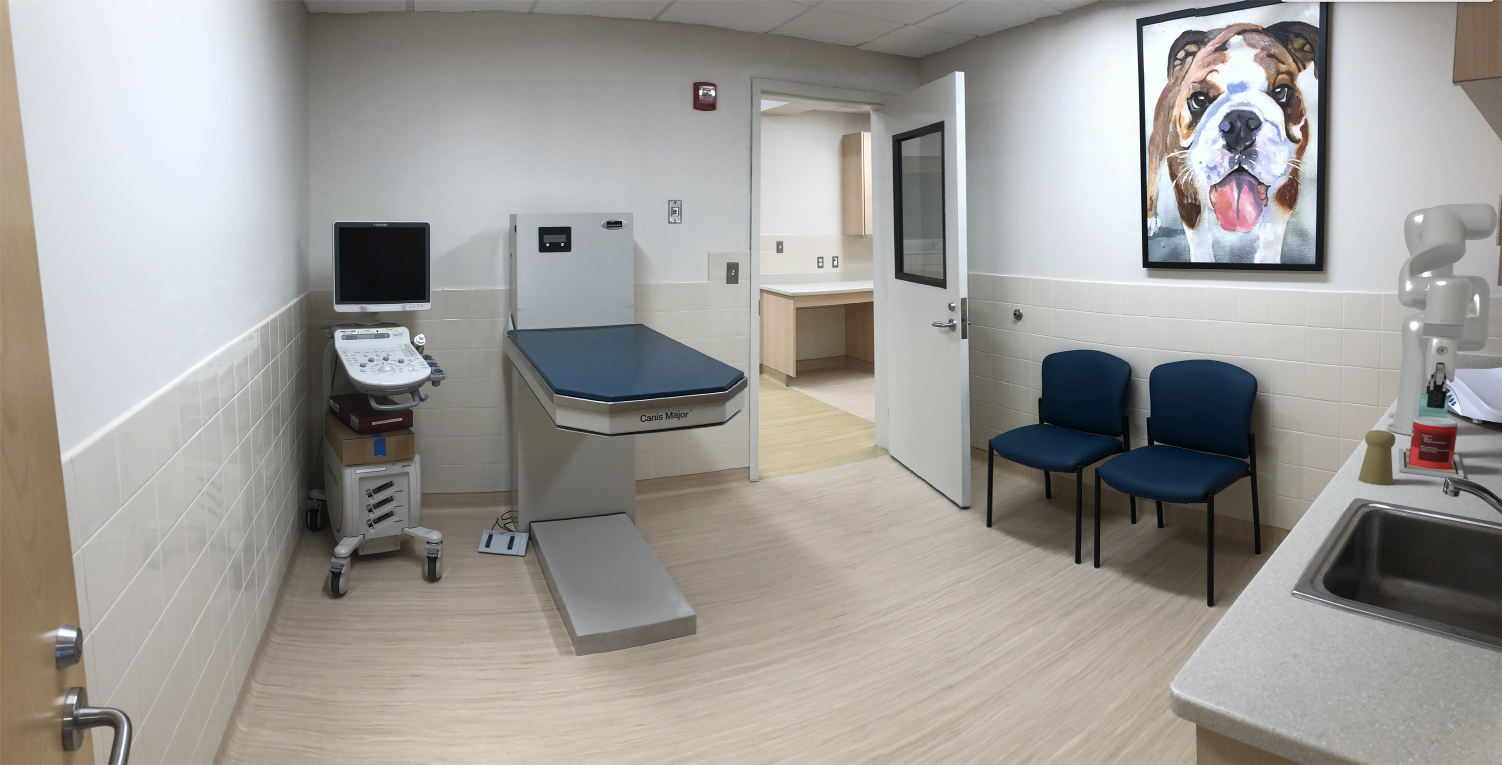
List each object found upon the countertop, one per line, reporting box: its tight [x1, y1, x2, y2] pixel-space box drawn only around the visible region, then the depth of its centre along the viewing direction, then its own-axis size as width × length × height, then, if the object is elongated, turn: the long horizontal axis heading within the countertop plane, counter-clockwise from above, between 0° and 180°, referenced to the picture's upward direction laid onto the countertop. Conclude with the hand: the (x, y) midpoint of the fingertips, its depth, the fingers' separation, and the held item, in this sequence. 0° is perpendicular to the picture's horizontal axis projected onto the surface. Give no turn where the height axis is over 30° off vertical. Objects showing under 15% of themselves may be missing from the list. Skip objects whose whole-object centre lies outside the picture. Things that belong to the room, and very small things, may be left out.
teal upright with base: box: [1405, 393, 1456, 474], centre depth 195 cm, size 21×8×14 cm, turn 143°
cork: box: [1358, 429, 1396, 486], centre depth 182 cm, size 6×6×11 cm
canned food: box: [1409, 416, 1458, 470], centre depth 190 cm, size 8×8×11 cm
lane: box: [1398, 448, 1465, 479], centre depth 195 cm, size 22×11×1 cm, turn 143°
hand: (1434, 405), depth 200 cm, fingers open, 9 cm apart
